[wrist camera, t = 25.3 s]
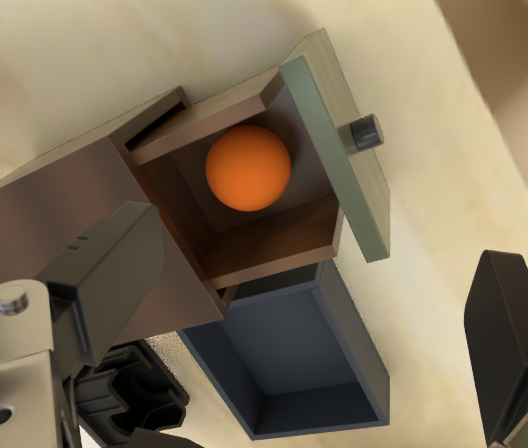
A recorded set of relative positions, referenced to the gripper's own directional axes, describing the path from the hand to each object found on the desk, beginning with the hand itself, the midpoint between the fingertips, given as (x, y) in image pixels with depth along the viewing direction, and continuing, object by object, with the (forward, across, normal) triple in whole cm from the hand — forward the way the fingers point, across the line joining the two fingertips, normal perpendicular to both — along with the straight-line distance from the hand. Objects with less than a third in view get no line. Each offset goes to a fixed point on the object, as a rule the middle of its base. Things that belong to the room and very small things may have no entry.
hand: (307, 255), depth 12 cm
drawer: (+17, +4, +4) cm, 18 cm away
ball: (+14, +5, +4) cm, 15 cm away
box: (+18, +3, +20) cm, 27 cm away
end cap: (+18, +17, +29) cm, 39 cm away
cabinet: (+18, +14, +10) cm, 25 cm away
